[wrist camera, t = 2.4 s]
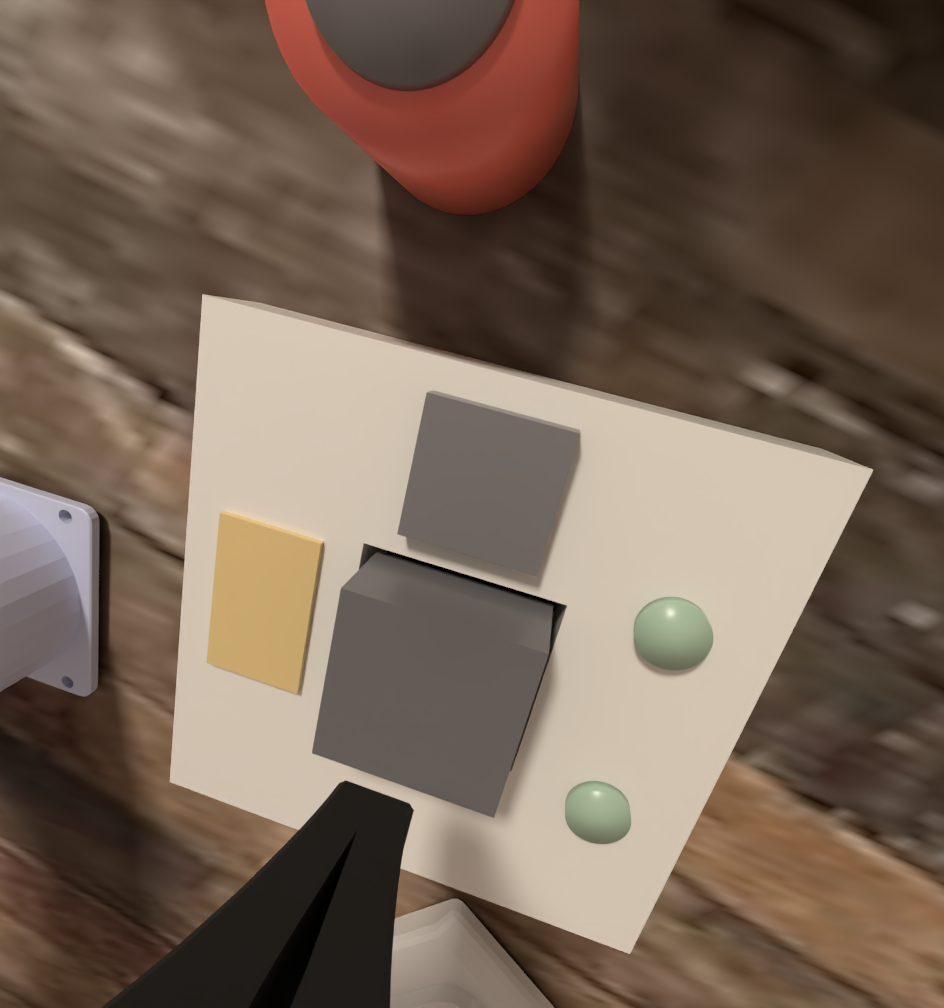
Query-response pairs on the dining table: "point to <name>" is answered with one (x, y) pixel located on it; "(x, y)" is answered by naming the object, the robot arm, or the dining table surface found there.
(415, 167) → the cap
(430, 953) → the light switch
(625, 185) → the dining table surface
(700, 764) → the panel
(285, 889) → the robot arm
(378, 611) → the button
